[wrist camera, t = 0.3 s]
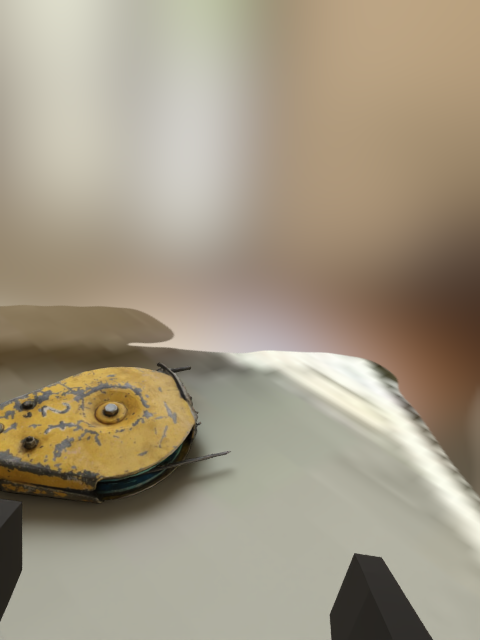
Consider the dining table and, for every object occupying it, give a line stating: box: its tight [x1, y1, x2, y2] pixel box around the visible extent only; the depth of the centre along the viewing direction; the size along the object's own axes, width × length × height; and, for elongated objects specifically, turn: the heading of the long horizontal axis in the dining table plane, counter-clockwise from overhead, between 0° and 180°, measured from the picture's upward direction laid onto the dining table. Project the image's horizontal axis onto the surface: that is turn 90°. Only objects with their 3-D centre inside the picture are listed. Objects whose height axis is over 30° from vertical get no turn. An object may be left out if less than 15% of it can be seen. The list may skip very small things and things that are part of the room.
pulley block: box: [0, 363, 231, 503], centre depth 39 cm, size 14×6×30 cm
